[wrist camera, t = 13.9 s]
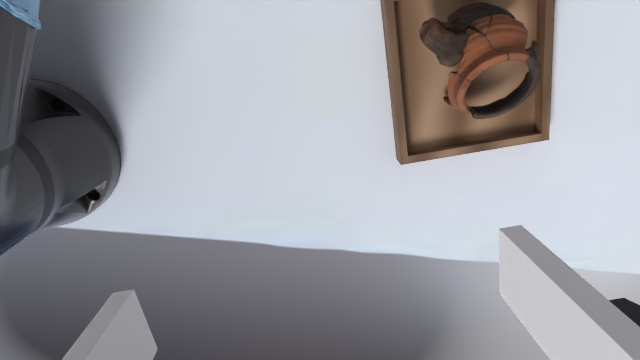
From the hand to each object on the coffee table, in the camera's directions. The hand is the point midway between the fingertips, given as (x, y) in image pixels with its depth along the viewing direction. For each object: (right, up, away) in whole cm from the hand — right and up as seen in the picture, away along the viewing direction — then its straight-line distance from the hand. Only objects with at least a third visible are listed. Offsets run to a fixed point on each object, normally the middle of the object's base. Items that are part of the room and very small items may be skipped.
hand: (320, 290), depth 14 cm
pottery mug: (+14, +17, +25) cm, 33 cm away
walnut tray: (+15, +15, +26) cm, 33 cm away
